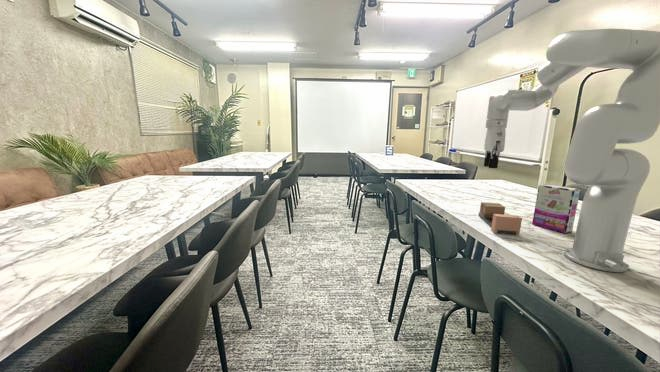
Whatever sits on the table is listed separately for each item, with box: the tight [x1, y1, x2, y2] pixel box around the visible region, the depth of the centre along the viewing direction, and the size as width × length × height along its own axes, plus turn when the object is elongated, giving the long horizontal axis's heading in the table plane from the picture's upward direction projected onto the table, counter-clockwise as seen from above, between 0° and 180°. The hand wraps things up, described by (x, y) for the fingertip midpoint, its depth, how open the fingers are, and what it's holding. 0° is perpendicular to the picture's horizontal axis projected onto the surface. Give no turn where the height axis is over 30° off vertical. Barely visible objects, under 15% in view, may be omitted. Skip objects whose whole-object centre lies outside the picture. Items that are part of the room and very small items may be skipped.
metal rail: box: [478, 211, 517, 236], centre depth 102 cm, size 22×6×2 cm, turn 166°
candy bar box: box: [532, 184, 581, 234], centre depth 97 cm, size 11×5×16 cm, turn 25°
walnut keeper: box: [479, 201, 506, 218], centre depth 106 cm, size 6×7×5 cm
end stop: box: [490, 214, 523, 237], centre depth 92 cm, size 3×8×6 cm, turn 76°
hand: (490, 166), depth 111 cm, fingers open, 5 cm apart
